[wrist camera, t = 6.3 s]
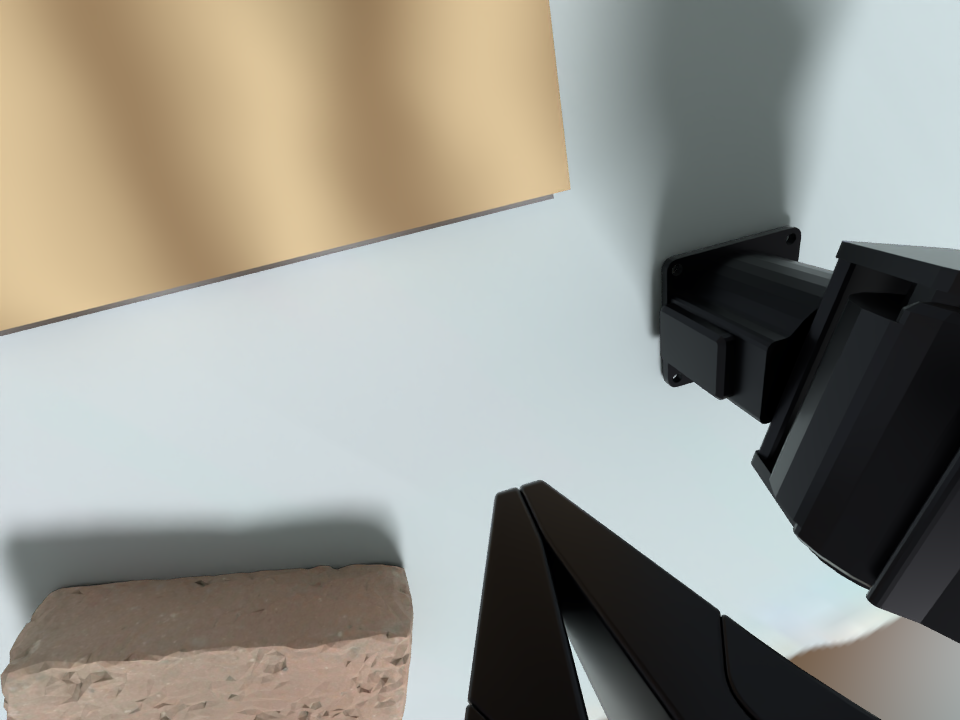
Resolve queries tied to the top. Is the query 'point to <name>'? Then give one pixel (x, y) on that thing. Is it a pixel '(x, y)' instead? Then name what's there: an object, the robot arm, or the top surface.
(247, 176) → the oak plank
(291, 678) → the brick
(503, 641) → the robot arm
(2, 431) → the top surface
